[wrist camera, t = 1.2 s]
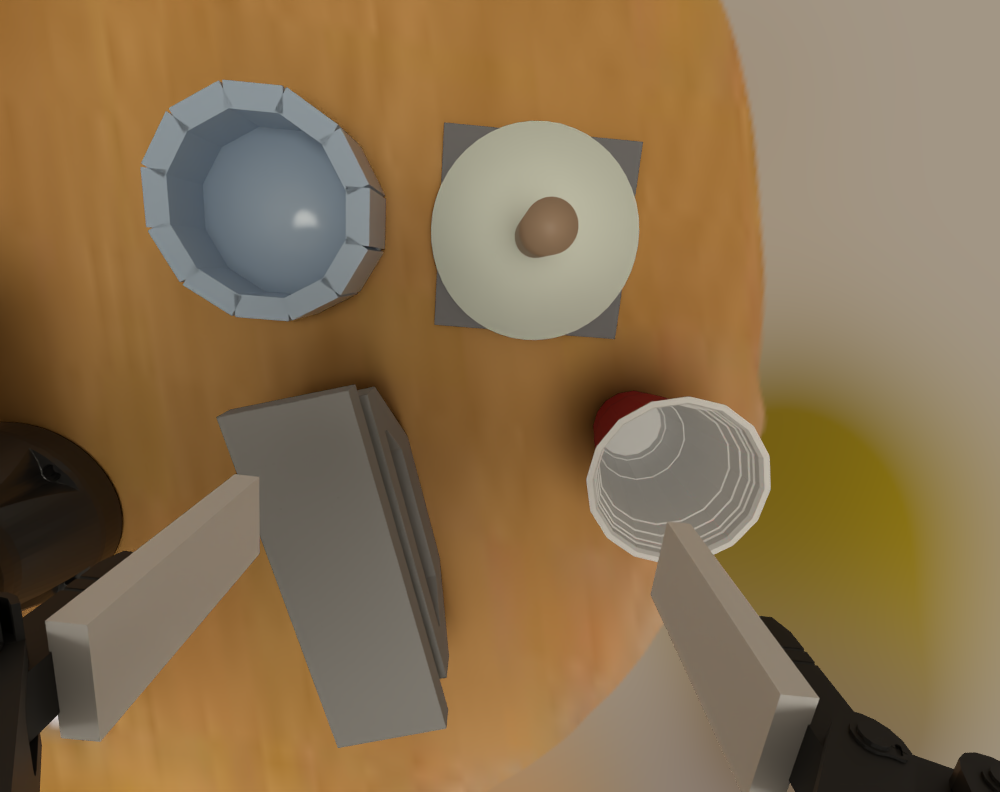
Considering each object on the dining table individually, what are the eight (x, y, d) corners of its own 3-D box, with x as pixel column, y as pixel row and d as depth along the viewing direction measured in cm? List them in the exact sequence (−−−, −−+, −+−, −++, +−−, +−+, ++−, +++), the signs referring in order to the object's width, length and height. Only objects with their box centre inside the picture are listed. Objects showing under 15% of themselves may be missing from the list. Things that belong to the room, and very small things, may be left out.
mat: (435, 323, 38) (434, 324, 37) (444, 124, 34) (444, 122, 34) (613, 338, 39) (614, 339, 38) (640, 143, 35) (642, 141, 34)
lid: (427, 330, 38) (407, 351, 28) (437, 113, 34) (417, 54, 24) (620, 345, 38) (663, 371, 29) (650, 135, 34) (712, 84, 25)
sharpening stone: (290, 376, 39) (216, 417, 28) (386, 356, 39) (348, 390, 28) (373, 635, 45) (337, 748, 35) (456, 620, 45) (446, 728, 34)
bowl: (197, 304, 37) (154, 310, 32) (182, 98, 34) (131, 70, 29) (383, 319, 38) (367, 327, 33) (387, 119, 34) (371, 94, 29)
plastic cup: (564, 357, 39) (596, 396, 27) (698, 361, 39) (787, 400, 28) (555, 483, 42) (582, 566, 30) (681, 485, 42) (755, 569, 30)
